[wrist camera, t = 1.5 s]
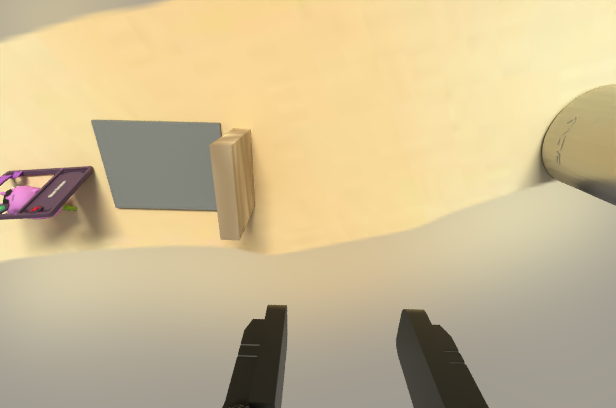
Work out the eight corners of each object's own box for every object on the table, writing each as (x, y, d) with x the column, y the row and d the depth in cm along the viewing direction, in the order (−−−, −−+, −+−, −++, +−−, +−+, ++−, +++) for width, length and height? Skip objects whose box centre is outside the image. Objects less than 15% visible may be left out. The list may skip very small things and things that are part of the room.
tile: (250, 128, 27) (231, 145, 21) (255, 205, 30) (239, 240, 24) (232, 128, 27) (207, 144, 21) (238, 205, 30) (218, 239, 24)
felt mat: (220, 122, 27) (219, 123, 27) (229, 209, 31) (228, 210, 30) (93, 119, 27) (91, 120, 27) (117, 206, 31) (115, 207, 30)
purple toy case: (43, 207, 23) (-61, 213, 24) (82, 246, 27) (-9, 250, 27) (88, 160, 28) (1, 165, 29) (116, 198, 32) (39, 202, 32)
